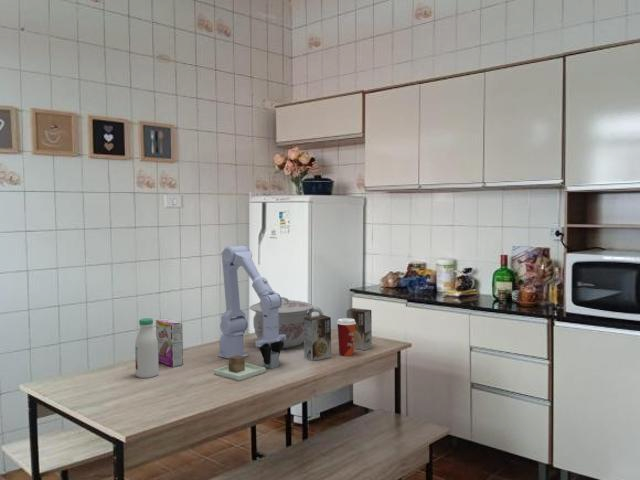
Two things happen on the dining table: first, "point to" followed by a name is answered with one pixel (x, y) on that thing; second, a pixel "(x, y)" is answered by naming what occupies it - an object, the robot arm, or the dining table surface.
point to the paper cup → (346, 336)
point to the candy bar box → (169, 342)
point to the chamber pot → (287, 320)
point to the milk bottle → (146, 350)
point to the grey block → (273, 360)
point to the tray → (247, 373)
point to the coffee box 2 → (361, 328)
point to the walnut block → (236, 363)
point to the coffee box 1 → (317, 337)
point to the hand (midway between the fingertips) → (271, 362)
